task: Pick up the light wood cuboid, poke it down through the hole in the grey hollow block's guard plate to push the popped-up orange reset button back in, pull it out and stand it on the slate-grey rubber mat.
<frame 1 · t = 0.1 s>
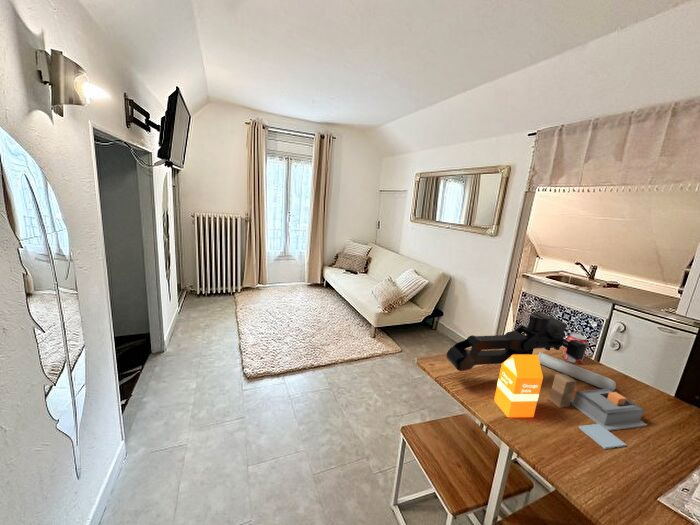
hand: (575, 339, 107), 17 cm above the table, tool horizontal, fingers open, 9 cm apart
grey hollow block: (604, 412, 92), on the table
tube: (572, 376, 112), on the table
soda can: (571, 360, 124), on the table
orange juice: (512, 409, 92), on the table
light wood cuboid: (558, 403, 96), on the table
reset button: (616, 398, 91), point 5 cm above the table, slide at 3.3 cm
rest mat: (601, 436, 82), on the table
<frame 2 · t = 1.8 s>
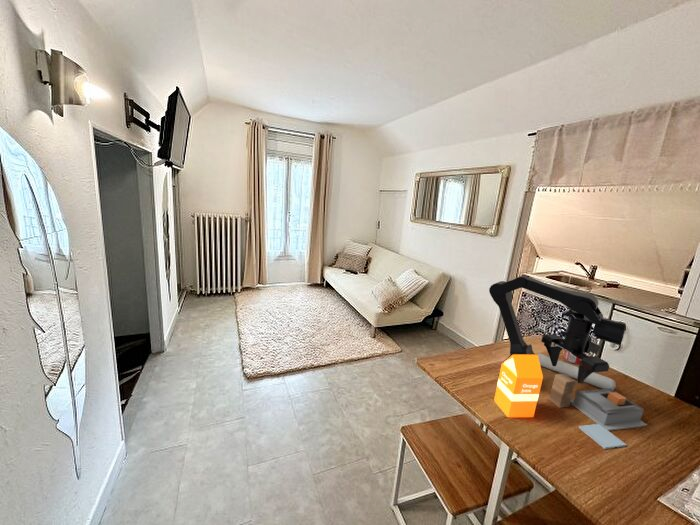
hand: (566, 374, 93), 11 cm above the table, tool pointing down, fingers open, 9 cm apart
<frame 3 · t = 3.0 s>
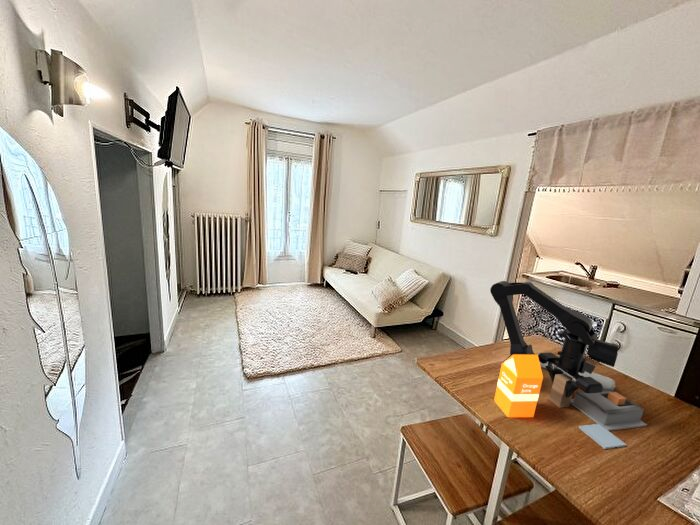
hand: (561, 392, 95), 4 cm above the table, tool pointing down, fingers closed on light wood cuboid, 4 cm apart
light wood cuboid: (558, 402, 96), on the table, touching gripper
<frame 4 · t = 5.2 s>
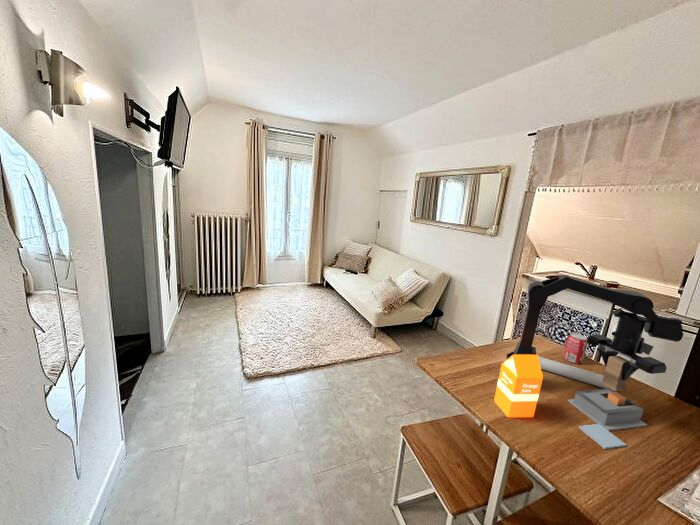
hand: (616, 376, 90), 14 cm above the table, tool pointing down, fingers closed on light wood cuboid, 4 cm apart
light wood cuboid: (613, 386, 91), point 10 cm above the table, touching gripper
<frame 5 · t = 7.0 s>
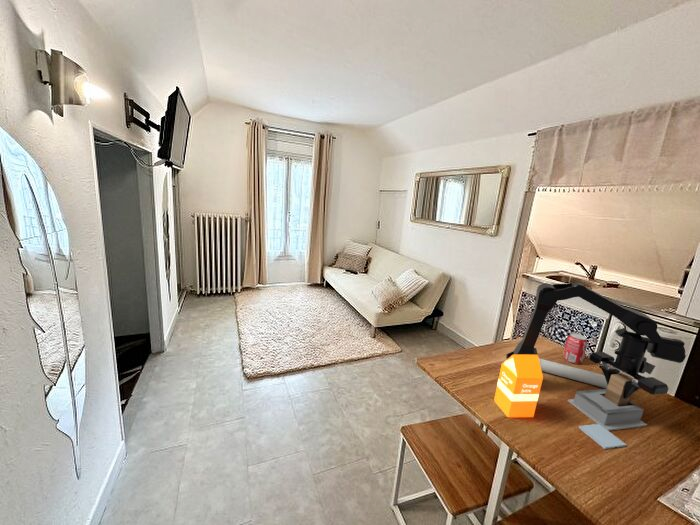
hand: (617, 393, 91), 7 cm above the table, tool pointing down, fingers closed on light wood cuboid, 4 cm apart
light wood cuboid: (614, 404, 92), point 3 cm above the table, touching gripper, reset button
reset button: (613, 407, 92), point 2 cm above the table, slide at -0.1 cm, touching light wood cuboid
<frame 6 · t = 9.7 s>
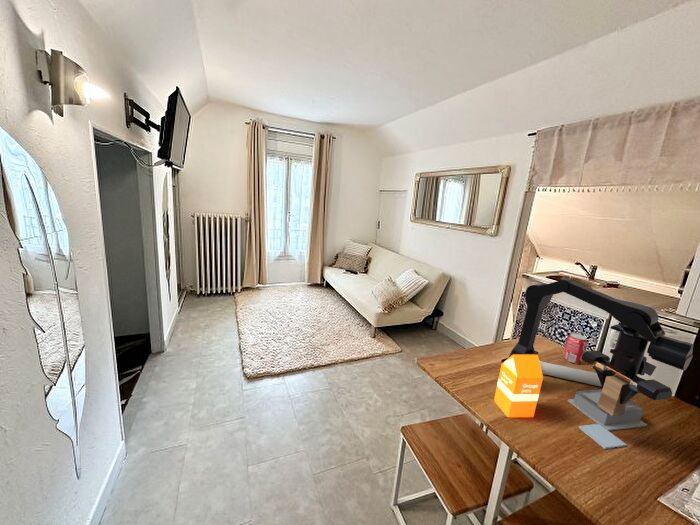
hand: (613, 398, 80), 13 cm above the table, tool pointing down, fingers closed on light wood cuboid, 4 cm apart
light wood cuboid: (610, 410, 80), point 9 cm above the table, touching gripper
reset button: (613, 407, 92), point 2 cm above the table, slide at -0.1 cm
when the fingers open (6 cm above the table, at t = 11.8 s): light wood cuboid drops 1 cm, resting on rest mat.
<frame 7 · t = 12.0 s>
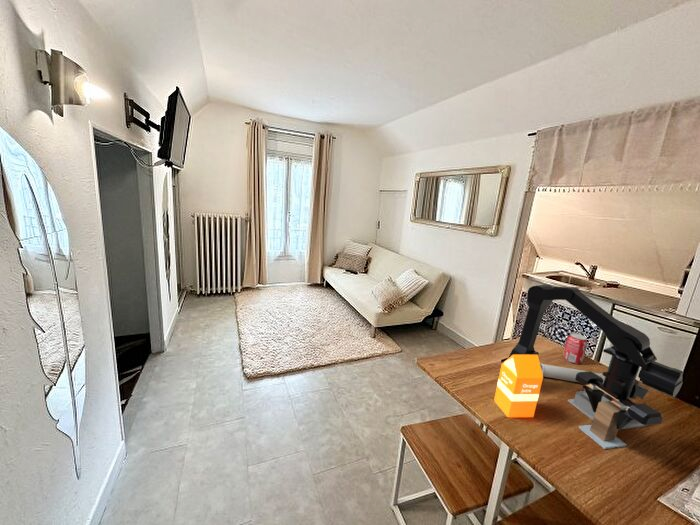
hand: (606, 420, 81), 6 cm above the table, tool pointing down, fingers open, 6 cm apart
light wood cuboid: (601, 434, 82), point 1 cm above the table, touching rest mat
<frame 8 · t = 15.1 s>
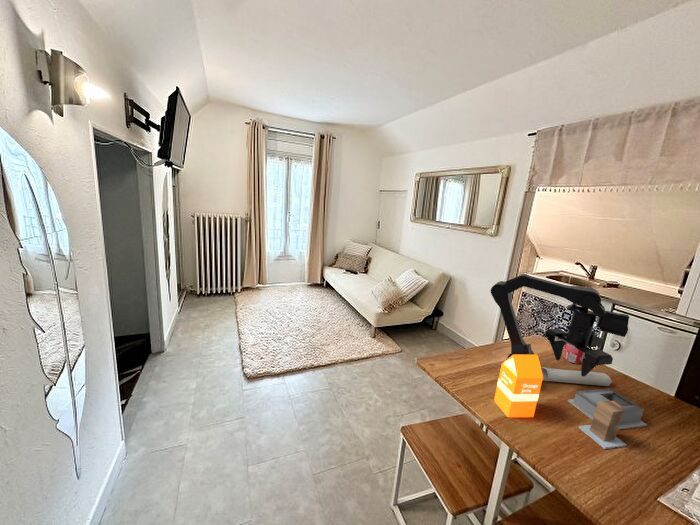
hand: (569, 367, 94), 13 cm above the table, tool pointing down, fingers open, 9 cm apart
at the end: reset button slide at -0.1 cm; light wood cuboid inside the target area on the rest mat (0.0 cm from its centre), point 0.6 cm above the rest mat's base; light wood cuboid tilted 0° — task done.
